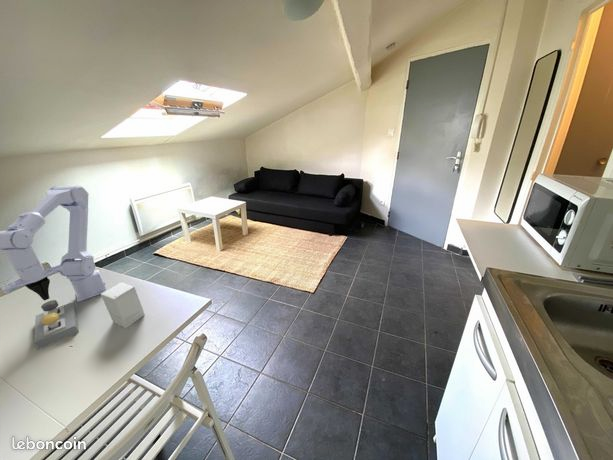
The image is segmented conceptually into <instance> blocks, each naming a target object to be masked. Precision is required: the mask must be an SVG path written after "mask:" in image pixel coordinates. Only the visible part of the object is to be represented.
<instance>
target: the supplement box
mask: <svg viewBox="0 0 613 460" xmlns="http://www.w3.org/2000/svg"><path fill="white" fill-rule="evenodd" d="M106 290H107V291H105V292H103V293H102V294H100V296H101V298H102V300H103V301H102V302H104V306H105V307H106V310H107V311H108V313H109V316H110V318H111V320H112V323H114V324H116V325H119V326H120V327H122V328H125V329H126V328H128V327H130V326H131V325H132V324H134V323H135V322H136V321H138V320H139V319H141V318H142V317H144V316H145V315H146V314H145V311H144V308H143V306H142V304H141V301H140V298H139V296H138V293H137V289H136V288H135V286H134V285H130V284H127V283H125V282H123V281H122V282H118V283H117V284H115V285H114V286H112V287H110V288H108V289H106Z"/></svg>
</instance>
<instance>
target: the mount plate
mask: <svg viewBox="0 0 613 460" xmlns="http://www.w3.org/2000/svg"><path fill="white" fill-rule="evenodd" d="M56 308H57V310H58V312H59V313H58V316H59V319H58V320H57V322H58V324H59V325H60V327H57V328H55V329H52V330H51V329H50V327H49V325H43V323H42V321H41V319H42V318H43V317H44V316H45V315H47V314H49V312H48V311H43V312H41V313H38V314H37V315H35V318H34V320H35V322H34V336H33V337H34V338H33V339H34V340H33V343H34V345H35V346H36V348H37V349H38V350H40V349H42V348H45V347H47V346H50V345H53V344H54V343H57V342H59V341H61V340H62V341H63V339H66V338H68V337H71V336H73V335H75V334H78V333H79V326H78V325H79V324H78V318H77V311H76V307H75V305H74V304H73V302H72V301H71V302H70V303H69V302H68V303H66V304H63V305H61V306H58V307H56Z"/></svg>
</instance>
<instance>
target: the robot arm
mask: <svg viewBox="0 0 613 460" xmlns="http://www.w3.org/2000/svg"><path fill="white" fill-rule="evenodd" d="M45 193H46V195H45V196H44V198H43V199H42V200H41V202H39V204H38V205H37V206H36V207H35V208H34V209H33V210H32V211H29V212H24V213H20V214H19V215H18V218H17V219H16V220H15V221H14V222H12V224H9V225H8V226H7V228H6V230H0V251H1V252H3V254H5V255H6V257H7V258H8V260H9V262H10V264H11V265H12V267H13V269H14V270H15V272H16V274H17V276H18V277H19V279H17V280H15V281H12V282H11V283H9V284H7V285H4V286H2V287H1V289H2V291H3V293H4V294H5V295H9V294H11V293H12V292H14V291H17V290H19V289H21V288H23V287H26V288H27V289H29V290H30V291H32V292H34V293H35V294H37V295H38V296H39V297H40V298H41V299H42V301H48V300H49V299H50V294H49V287H50V283H51V280H50V278H48V277H50V276H53V275H55V274H57V273H59V274H60V275H61V276H63V277H66V279H67V280H69V281H70V284H71V286H72V288H73V289H74V292H75V296H76V302H77V303H80V302H83V301H85V300H88V299H91V298H93V297H97V296H99V295H101V294H102V293H103V292H105V291H107V290H108V289H107V288H106V283H105V280H103V278H102V276H101V273H100V270H99V269H96V264H95V260H94V256H93V255H92V254H90V253H89V252H88V251H87V248H88V247H87V245H88V226H89V225H88V224H89V223H88V221H89V193H88V191H87V190H86V189H85V187H83V186H81V185H65V186H63V185H62V186H60V185H59V186H58V185H54V186H51V187H50V189H48V190H47V191H45ZM59 206H60V207H62V208H64V209H66V210H67V211H68V212H69V224H68V225H69V226H68V246H67V247H68V248H67V249H68V251H67V253H65V254H64V255H63V256H61V260H60V264H58V265H55V266H52V267H50V268H49V267H48V268H45V269H44V268H43V266H42V263H41V262H40V260H39V259H38V257H37V255H36V253H35V251H34V249H33V247H32V244H33V242H34V237H35V234H36V233H37V232H38V231H39V230H40V229H41V228H42V227H43V226H44V225H45V224H46V220H45V218H46V217H47V216H48V215H50V214H51V213H52V212H53V211H54V210H55V209H57V208H58V207H59Z"/></svg>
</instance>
